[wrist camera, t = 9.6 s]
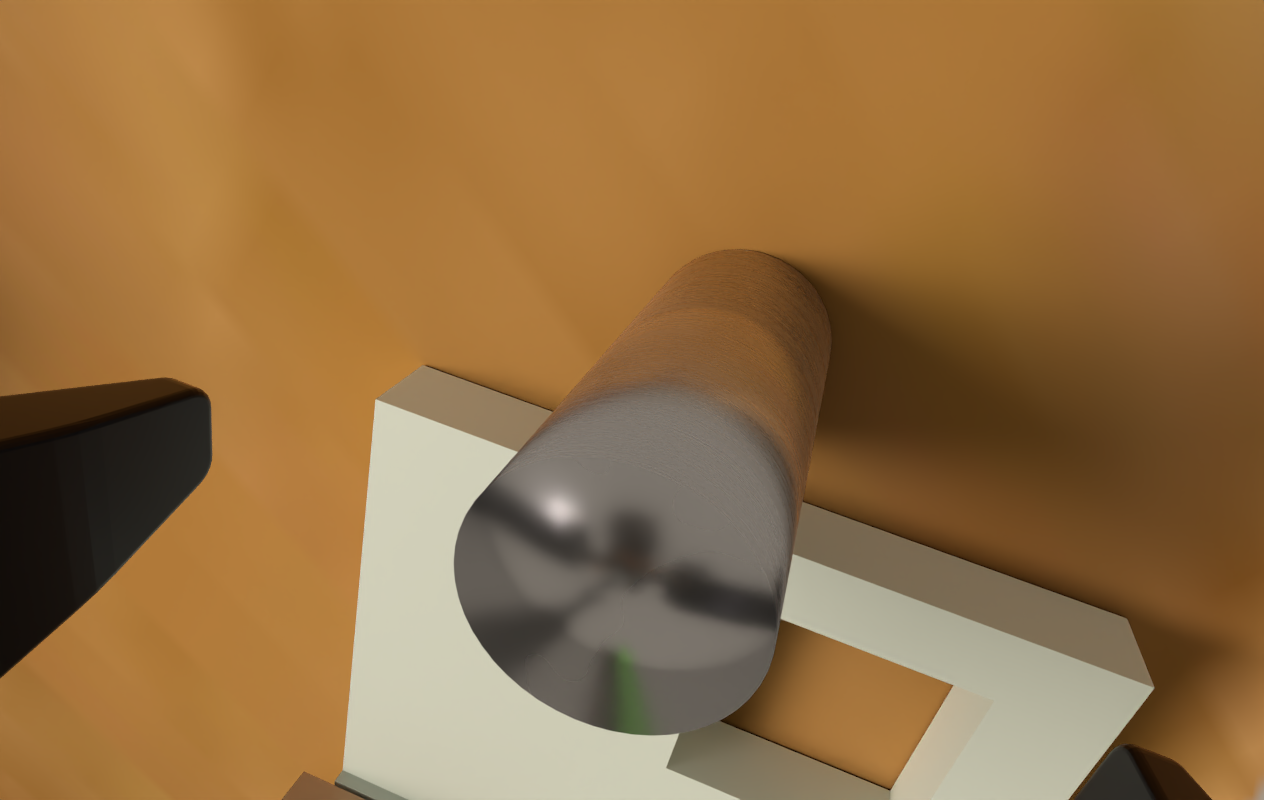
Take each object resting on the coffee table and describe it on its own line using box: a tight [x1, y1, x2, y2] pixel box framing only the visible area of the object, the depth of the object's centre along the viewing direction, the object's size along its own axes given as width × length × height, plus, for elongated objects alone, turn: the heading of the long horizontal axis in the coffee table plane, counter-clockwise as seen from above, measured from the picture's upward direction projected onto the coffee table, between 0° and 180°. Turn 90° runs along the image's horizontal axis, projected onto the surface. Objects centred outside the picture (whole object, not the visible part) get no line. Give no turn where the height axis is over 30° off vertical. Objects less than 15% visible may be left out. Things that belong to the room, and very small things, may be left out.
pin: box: [454, 249, 832, 736], centre depth 10 cm, size 3×3×7 cm
